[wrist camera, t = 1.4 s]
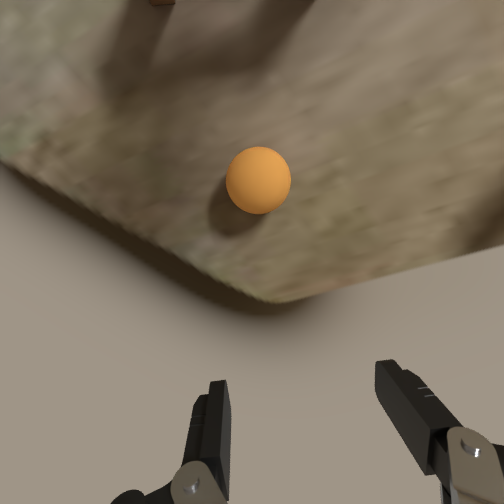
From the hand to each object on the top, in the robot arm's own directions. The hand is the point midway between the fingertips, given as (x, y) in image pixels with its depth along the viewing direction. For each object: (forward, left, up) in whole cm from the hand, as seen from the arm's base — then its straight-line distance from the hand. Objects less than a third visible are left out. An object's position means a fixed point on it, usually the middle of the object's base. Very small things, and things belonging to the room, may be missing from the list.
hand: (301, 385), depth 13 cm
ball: (-9, 0, -15) cm, 18 cm away
